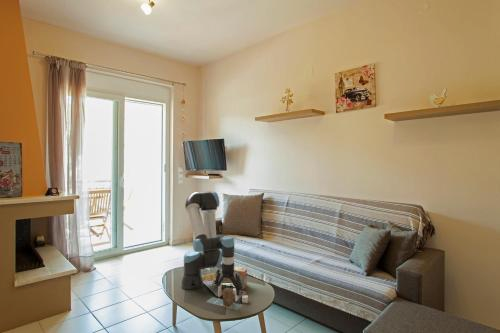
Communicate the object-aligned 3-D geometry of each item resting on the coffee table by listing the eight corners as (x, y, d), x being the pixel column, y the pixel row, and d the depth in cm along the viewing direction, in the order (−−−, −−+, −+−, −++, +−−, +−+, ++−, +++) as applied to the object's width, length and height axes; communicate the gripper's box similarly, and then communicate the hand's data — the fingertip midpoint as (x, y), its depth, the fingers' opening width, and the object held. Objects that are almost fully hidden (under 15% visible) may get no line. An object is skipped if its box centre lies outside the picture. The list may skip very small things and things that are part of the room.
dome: (228, 298, 183) (228, 289, 183) (233, 293, 189) (233, 285, 189) (237, 300, 180) (237, 291, 180) (242, 295, 186) (242, 287, 186)
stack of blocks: (215, 285, 204) (215, 267, 203) (218, 281, 210) (218, 264, 209) (244, 289, 198) (244, 271, 197) (247, 285, 204) (247, 267, 203)
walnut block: (222, 305, 176) (222, 290, 175) (226, 301, 180) (226, 287, 179) (229, 306, 174) (229, 292, 173) (233, 303, 178) (233, 288, 177)
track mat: (206, 302, 180) (206, 301, 180) (212, 297, 186) (212, 296, 186) (237, 310, 170) (237, 310, 170) (242, 305, 176) (242, 304, 176)
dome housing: (224, 300, 183) (224, 295, 183) (232, 293, 192) (232, 288, 192) (238, 303, 178) (238, 298, 178) (245, 296, 187) (245, 291, 187)
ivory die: (242, 302, 179) (242, 297, 179) (243, 300, 183) (243, 294, 182) (247, 303, 179) (247, 297, 179) (248, 300, 182) (248, 295, 182)
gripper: (208, 261, 178) (208, 296, 179) (242, 268, 167) (242, 305, 168) (215, 257, 184) (215, 291, 185) (248, 263, 174) (248, 299, 175)
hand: (228, 298), depth 177 cm, fingers open, 11 cm apart
